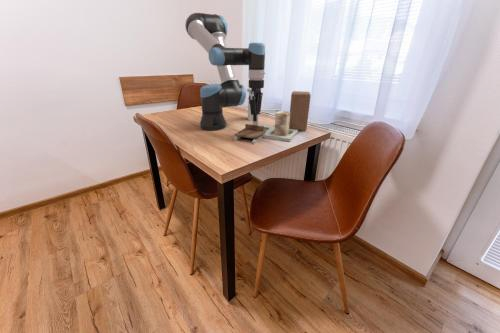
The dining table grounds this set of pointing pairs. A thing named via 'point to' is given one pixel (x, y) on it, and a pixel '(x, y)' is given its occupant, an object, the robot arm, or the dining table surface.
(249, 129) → the walnut lid
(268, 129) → the puzzle board
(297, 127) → the wooden block
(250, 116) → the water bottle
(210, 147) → the dining table surface
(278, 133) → the beech block
